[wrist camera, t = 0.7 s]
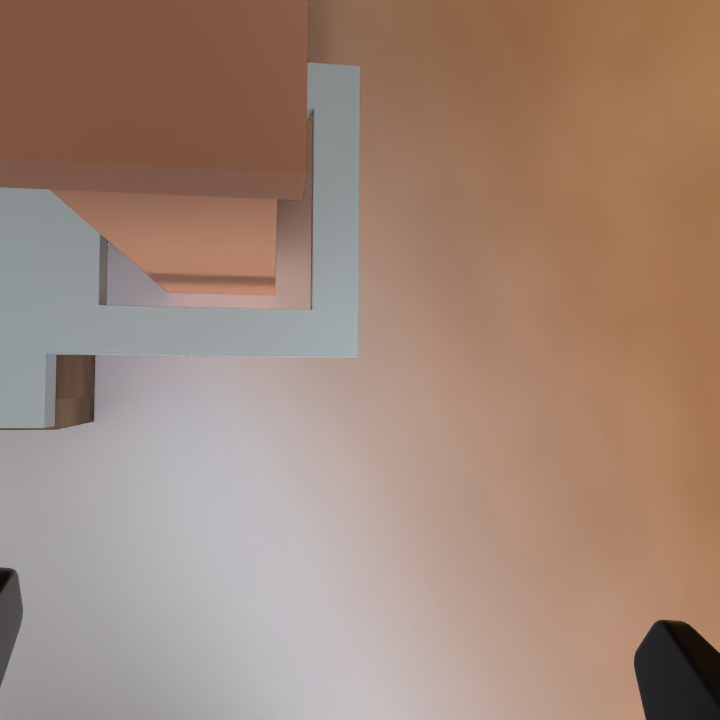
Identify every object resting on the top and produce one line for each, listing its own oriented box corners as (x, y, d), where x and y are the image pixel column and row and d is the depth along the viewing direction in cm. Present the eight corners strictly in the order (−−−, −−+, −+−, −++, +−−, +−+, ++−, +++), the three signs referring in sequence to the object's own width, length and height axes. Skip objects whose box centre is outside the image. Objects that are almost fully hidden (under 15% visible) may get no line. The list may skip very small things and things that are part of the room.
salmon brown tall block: (285, 305, 22) (306, 174, 8) (156, 302, 21) (-55, 156, 8) (286, 182, 22) (309, -153, 8) (159, 176, 22) (-45, -194, 8)
